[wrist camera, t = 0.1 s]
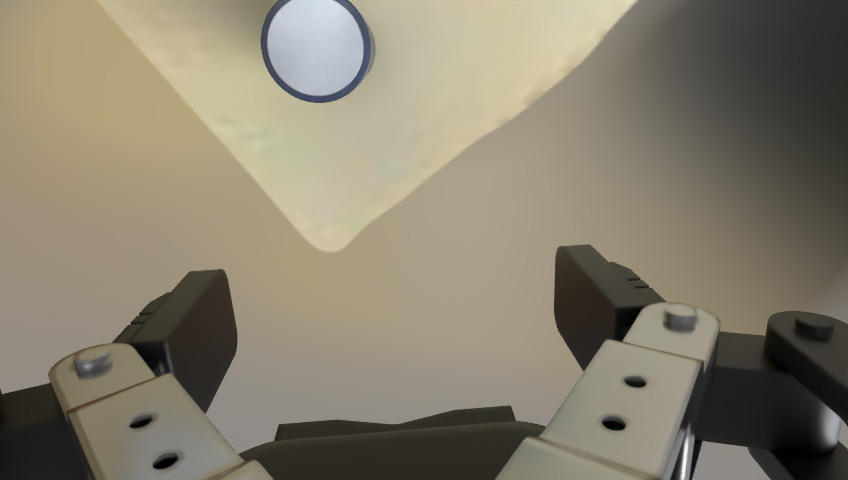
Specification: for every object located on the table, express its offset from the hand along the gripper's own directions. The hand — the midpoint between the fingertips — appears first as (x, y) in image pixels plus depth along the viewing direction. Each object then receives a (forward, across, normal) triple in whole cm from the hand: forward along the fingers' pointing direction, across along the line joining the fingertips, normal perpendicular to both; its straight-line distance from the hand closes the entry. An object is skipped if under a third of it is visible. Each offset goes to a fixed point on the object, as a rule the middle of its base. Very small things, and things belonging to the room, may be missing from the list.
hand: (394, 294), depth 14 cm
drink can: (+29, +3, -6) cm, 30 cm away
